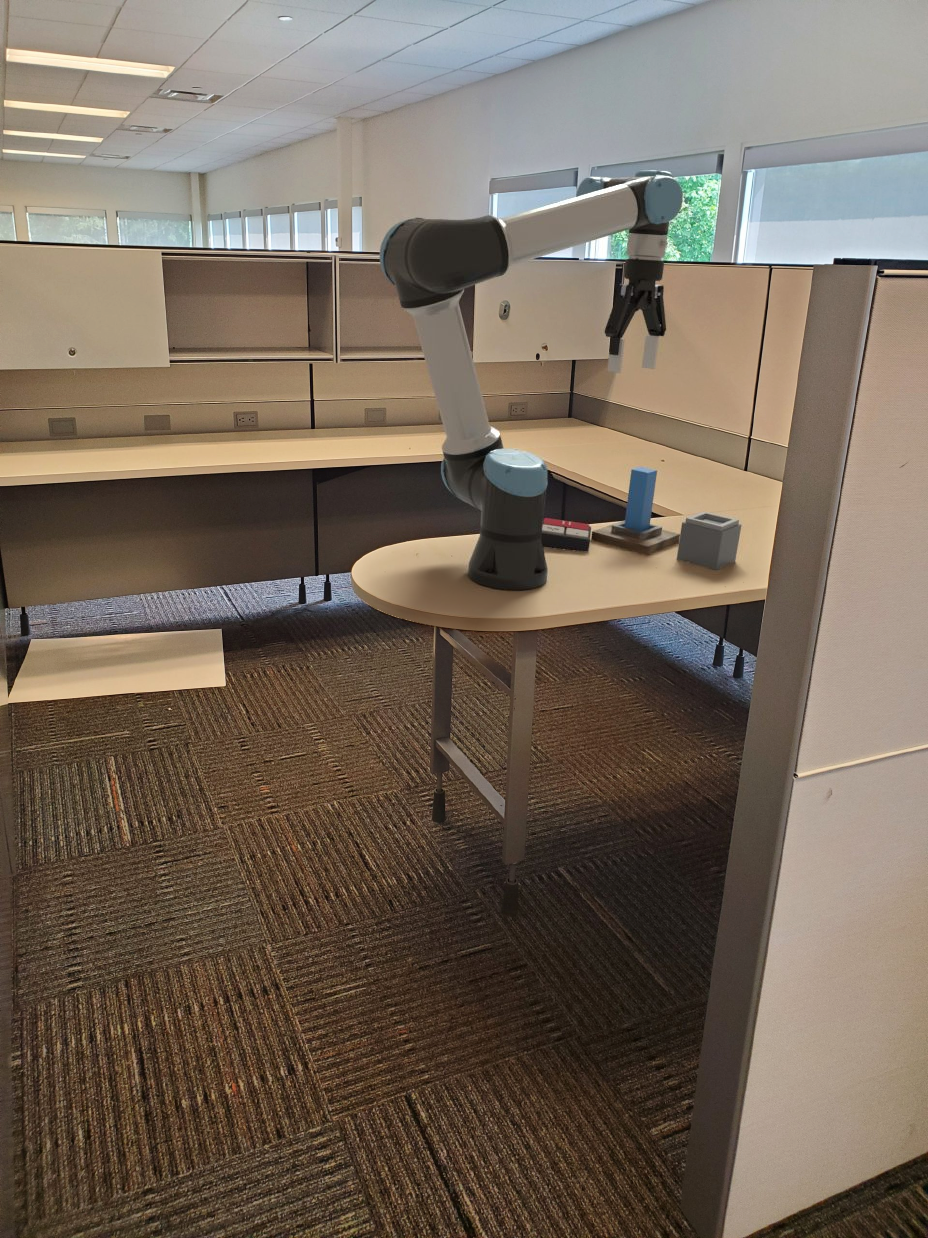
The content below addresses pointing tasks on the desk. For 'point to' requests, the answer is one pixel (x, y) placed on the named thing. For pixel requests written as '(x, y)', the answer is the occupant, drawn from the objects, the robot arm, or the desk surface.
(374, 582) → the desk surface
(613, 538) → the lower socket plate
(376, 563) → the desk surface
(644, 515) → the plug
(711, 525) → the upper socket block
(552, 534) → the black and red block
